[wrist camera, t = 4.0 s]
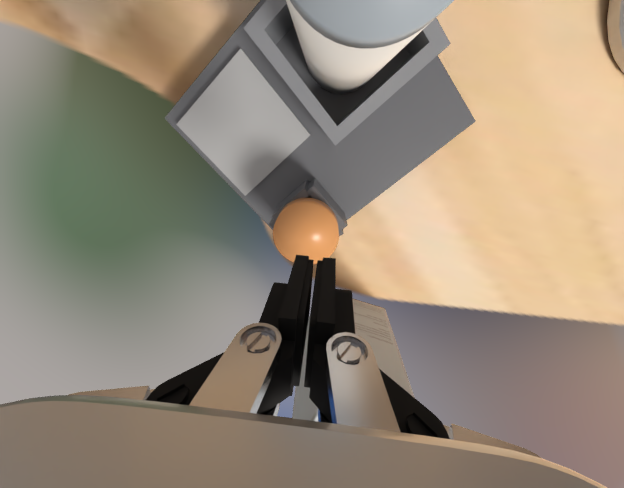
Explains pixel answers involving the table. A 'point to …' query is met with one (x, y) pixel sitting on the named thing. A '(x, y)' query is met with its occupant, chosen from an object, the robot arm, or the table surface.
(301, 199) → the glossy orange sphere
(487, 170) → the table surface
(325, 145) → the grey compartment tray
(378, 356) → the supplement box
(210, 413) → the robot arm
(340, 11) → the cylinder
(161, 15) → the table surface
